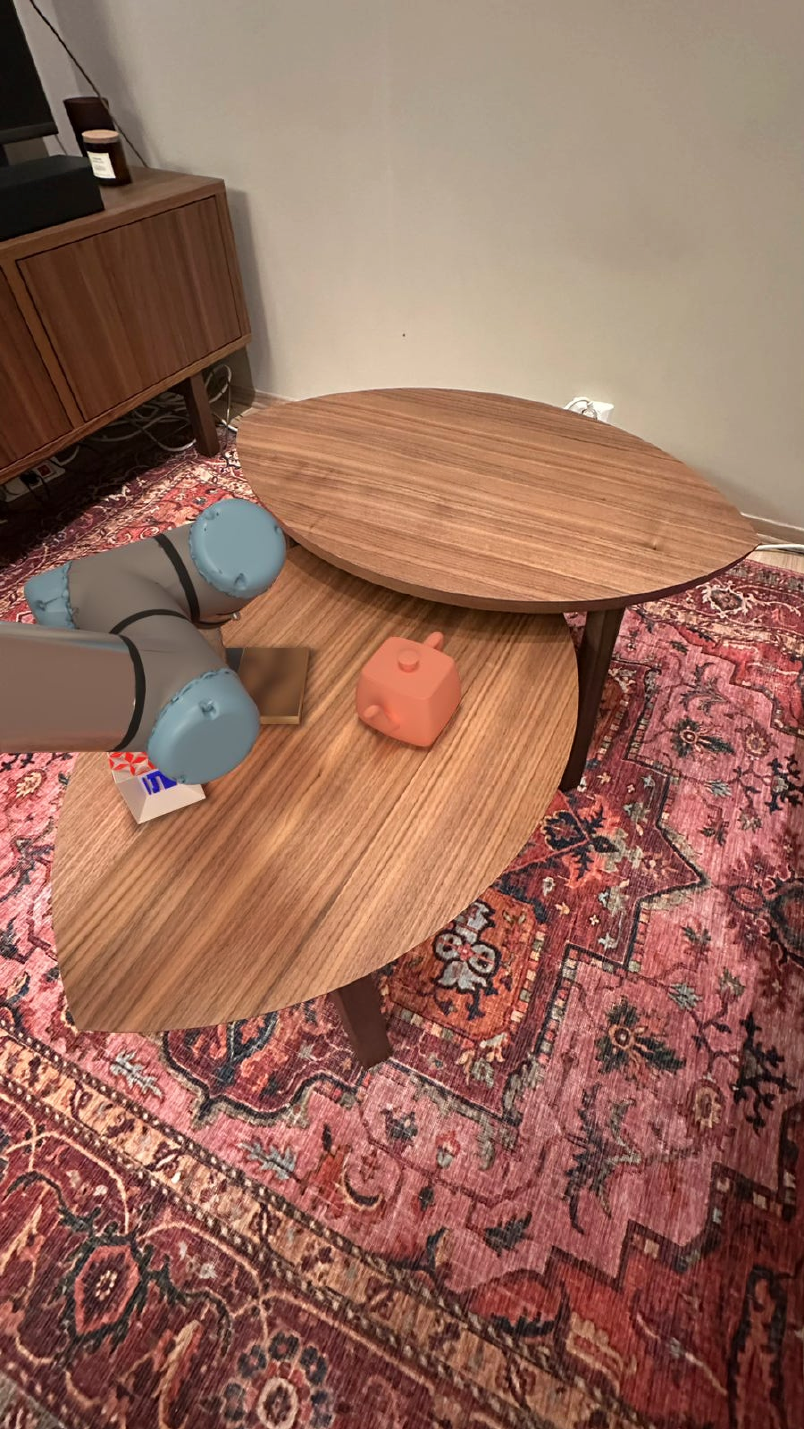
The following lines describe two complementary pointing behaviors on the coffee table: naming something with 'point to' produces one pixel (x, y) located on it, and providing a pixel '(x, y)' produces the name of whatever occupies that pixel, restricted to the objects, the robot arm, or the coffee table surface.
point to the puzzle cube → (149, 786)
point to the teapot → (409, 689)
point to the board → (273, 679)
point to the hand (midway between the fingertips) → (176, 626)
